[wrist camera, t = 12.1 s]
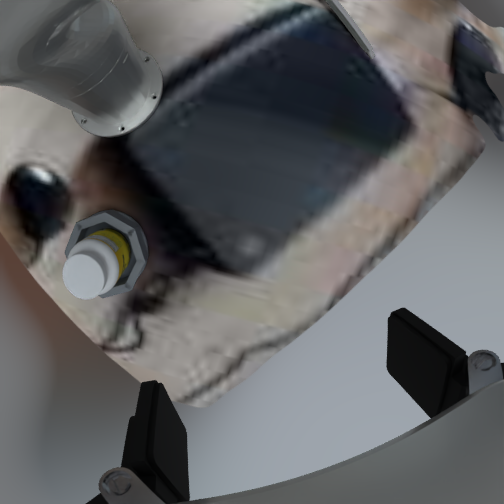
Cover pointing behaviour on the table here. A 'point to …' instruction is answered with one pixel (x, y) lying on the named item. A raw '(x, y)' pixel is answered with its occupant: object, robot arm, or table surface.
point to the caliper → (351, 26)
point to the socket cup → (129, 230)
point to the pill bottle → (96, 263)
